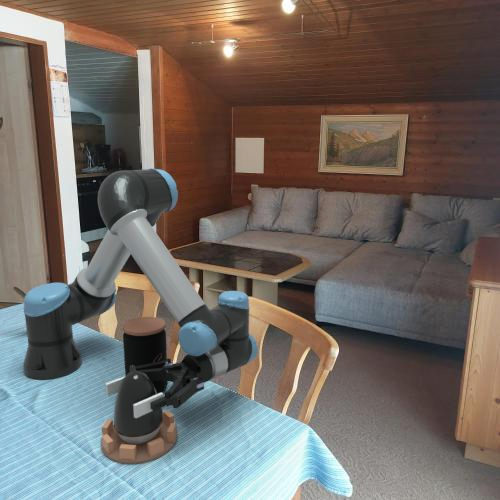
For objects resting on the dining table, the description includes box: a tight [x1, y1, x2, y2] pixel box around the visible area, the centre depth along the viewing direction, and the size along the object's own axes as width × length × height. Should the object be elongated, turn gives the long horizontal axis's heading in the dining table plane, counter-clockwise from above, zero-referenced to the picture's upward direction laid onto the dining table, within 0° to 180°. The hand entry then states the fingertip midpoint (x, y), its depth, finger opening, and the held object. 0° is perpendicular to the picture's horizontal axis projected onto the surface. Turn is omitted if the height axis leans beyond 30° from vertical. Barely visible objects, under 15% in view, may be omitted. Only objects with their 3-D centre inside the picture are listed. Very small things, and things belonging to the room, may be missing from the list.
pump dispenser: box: [113, 365, 164, 444], centre depth 96 cm, size 10×10×15 cm
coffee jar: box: [122, 316, 169, 394], centre depth 116 cm, size 11×11×18 cm
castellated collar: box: [100, 409, 179, 465], centre depth 98 cm, size 16×16×3 cm
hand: (119, 400), depth 93 cm, fingers open, 11 cm apart
